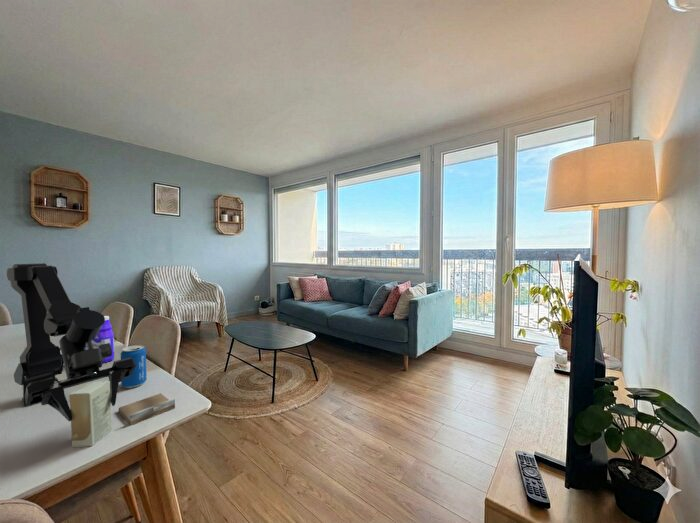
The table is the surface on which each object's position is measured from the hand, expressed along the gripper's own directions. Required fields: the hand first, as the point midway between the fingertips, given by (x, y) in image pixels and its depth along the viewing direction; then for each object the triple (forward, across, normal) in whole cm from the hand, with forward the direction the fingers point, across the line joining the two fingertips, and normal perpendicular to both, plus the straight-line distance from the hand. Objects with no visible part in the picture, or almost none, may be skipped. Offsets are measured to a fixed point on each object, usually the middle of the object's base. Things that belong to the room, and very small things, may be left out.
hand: (93, 412), depth 65 cm
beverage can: (-13, +16, +23) cm, 30 cm away
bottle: (-36, +16, +46) cm, 60 cm away
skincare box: (+4, 0, +6) cm, 7 cm away
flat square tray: (+1, +12, +8) cm, 15 cm away
